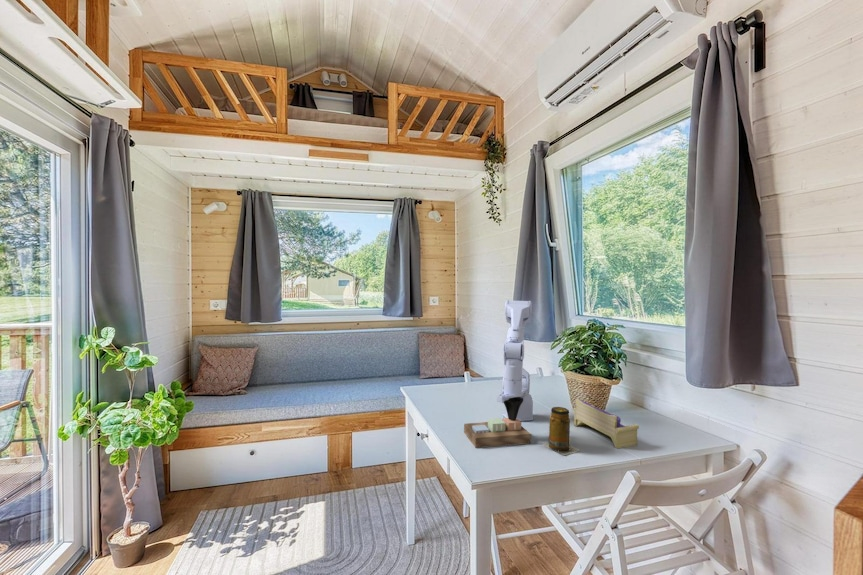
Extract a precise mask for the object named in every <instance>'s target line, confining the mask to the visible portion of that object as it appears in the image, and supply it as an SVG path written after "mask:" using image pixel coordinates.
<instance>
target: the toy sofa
mask: <svg viewBox="0 0 863 575" xmlns="http://www.w3.org/2000/svg"><path fill="white" fill-rule="evenodd" d="M573 412H574V416H573V418H574V421H573V426H575V427H579V426H580V427H581V426H589V427H591V428H592V429H594V430H596V431H598V432H600V433H602V434H604V435H606V436H608V437H609V438H610V439H611V441H612V443H613V444H614V448H615V449H622V448H628V447H633V446H637V445H638V430H639V428H640V426H639V424H638V423H636V424H629V425H623V424H621V417H620V416H618V415H615V414H613V413H610V412H607V411H606V410H603V409H600V408H598V407H596V406H594V405H593V404H589V403H587V402H586V401H584V400H582V399H581V398H576V399H575V407H573Z"/></svg>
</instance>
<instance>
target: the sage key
mask: <svg viewBox="0 0 863 575" xmlns="http://www.w3.org/2000/svg"><path fill="white" fill-rule="evenodd" d="M487 422H488V428H489V429H490V431H491V432H501V431H505V424H506V423H505V422H504V421H503V419H502V418H500V417H499V418H487Z"/></svg>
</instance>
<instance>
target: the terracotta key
mask: <svg viewBox="0 0 863 575" xmlns="http://www.w3.org/2000/svg"><path fill="white" fill-rule="evenodd" d="M502 420H503V421H504V422H505V423H506V424H505V429H507V430H508V431H514V430H521V426H522V421H519V420H518V419H517V418H516V420H514V421H513V420H510V419H509V418H505V417H503V419H502Z"/></svg>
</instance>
